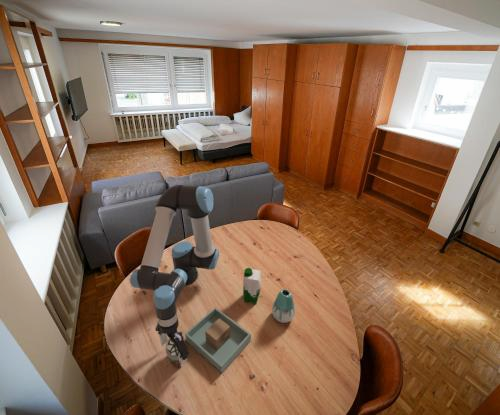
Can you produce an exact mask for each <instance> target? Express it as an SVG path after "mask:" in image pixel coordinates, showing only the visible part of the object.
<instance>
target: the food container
mask: <svg viewBox="0 0 500 415" xmlns="http://www.w3.org/2000/svg"><path fill="white" fill-rule="evenodd" d="M177 332H178V334H179V335H181V334H182V335H183V331H177ZM175 338H176V337H174V338H172V339H173V340H174V339H175ZM165 353H166V356H168V358H169V360H170V363H171V364H172V366H174V367H175V368H180V369H181V368H182V365H181V362H180V356H179V355H180V353H179V351H178V350H177V348H176V346H175V344H174V343H173V342H171V340H170V338H169V337H168V339H167V342H166V343H165Z"/></svg>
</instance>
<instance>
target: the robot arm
mask: <svg viewBox="0 0 500 415" xmlns="http://www.w3.org/2000/svg"><path fill="white" fill-rule="evenodd" d="M213 208H214V194H213V192H212V189H210V188H209V187H206V186H194V185H193V186H192V185H183V184H175V185H173V186H172V185H171V187H169V188H167V189H166V190H165V191H164V192H163V193H162V194H161V196H160V197H159V198H158V200H157V202H156V205H155V208H154V210H155V211H156V214H155V216H154V219H153V220H154V221H153V222H152V223H153V224H152V226H151V231H150V234H149V236H148V240H147V244H146V246H145V251H144V252H143V253H144V254H143V258H142V260H141V264H140V267H139V268H136V269H134V270H133V271H132V274H131V275H130V278H129V283H130V286H131V287H133V288H134V289H135V288H136V289H140V290H149V291H153V294H152V298H153V305H154V309H155V312H156V313H155V315H156V317H157V321H156V322H157V324H156V326H155V331H156V332H157V333H158V335H159V340H160V344H161V346H165V345H166V344H167V341H168V339H169V338H170V340H171V342H173V343H174V344H175V346H176V348H177V350H178V351H179V353H180V355H179V356H180V362H181V366H182V365H184V364H185V363H186V362H188V357H189V355H190V354H191V352H190V351H189V349H188V346H187V343H186V342H185V340H184V336H183V333H182V334H181V335H179V334H178V332H179V331H178V328H179V324H180V323H179V316H178V311H177V301H178V299H179V297H180V295H181V293H182V291H183V289H184V287H185V286H188V285H191V284H193V283H195V281H197V280H198V277H199V271H198V269H204V270H215V268H216V267H217V265H218V260H219V257H220V255H219V254H220V249H218V248H216V247H215V246H216V245H214V243H212V236H211V228H210V222H209V215H210V213H211V212H212V211H213ZM178 210H183V211H185V212H186V215H187V216H188V217H189V218H190V221H191V227H192V232H193V237H194V238H193V239H194V244H195V246H193V244H192V243H191V242H190V241H188V240H187V241H185V240H184V241H180V242H177V243H176V244H174V245H173V246H172V248H171V257H172V264H173V270H172V271H171V272H170V273H169V272H161V271H159V270H160V266H161V262H162V258H163V255H164V250H165V247H166V243H167V241H168V240H167V239H168V237H169V233H170V229H171V225H172V223H173V222H172V221H173V219H174V216H176V215H177V212H178ZM174 337H176V338H175V339H174V340H173V339H172V338H174Z"/></svg>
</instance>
